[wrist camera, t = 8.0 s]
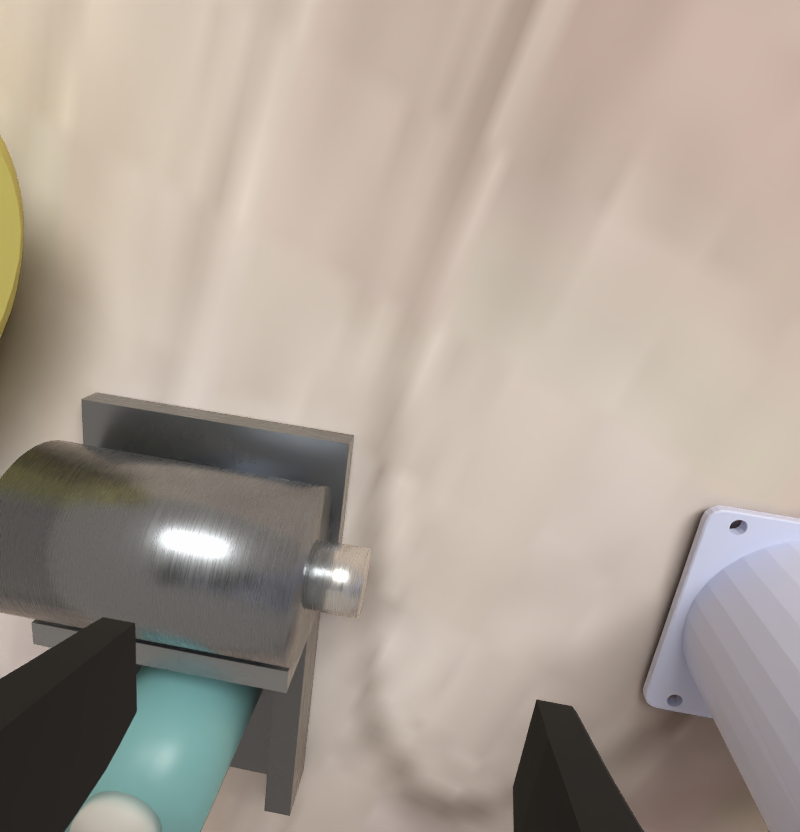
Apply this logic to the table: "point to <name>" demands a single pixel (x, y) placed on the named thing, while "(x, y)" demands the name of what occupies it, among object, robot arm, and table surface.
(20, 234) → the plastic component
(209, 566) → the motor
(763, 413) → the table surface
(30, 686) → the robot arm
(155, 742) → the teal rounded cylinder
